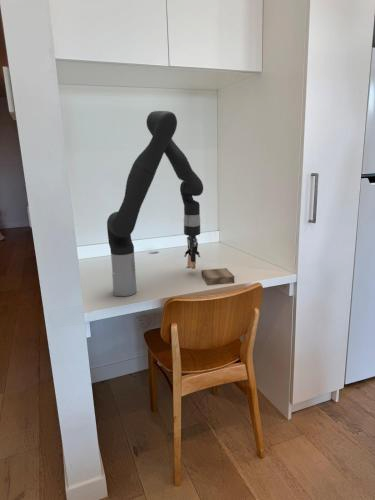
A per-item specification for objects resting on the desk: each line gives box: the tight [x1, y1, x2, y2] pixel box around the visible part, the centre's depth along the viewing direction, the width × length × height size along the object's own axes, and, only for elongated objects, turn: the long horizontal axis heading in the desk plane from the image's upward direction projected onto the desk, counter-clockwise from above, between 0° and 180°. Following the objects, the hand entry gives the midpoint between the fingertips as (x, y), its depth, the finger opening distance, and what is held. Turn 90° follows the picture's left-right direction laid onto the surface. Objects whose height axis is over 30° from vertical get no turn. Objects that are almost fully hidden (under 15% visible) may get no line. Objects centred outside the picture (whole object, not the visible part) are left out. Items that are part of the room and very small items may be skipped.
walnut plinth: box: [200, 267, 235, 286], centre depth 155 cm, size 12×12×3 cm
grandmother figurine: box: [183, 248, 201, 270], centre depth 161 cm, size 8×4×13 cm, turn 86°
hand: (192, 260), depth 162 cm, fingers closed on grandmother figurine, 3 cm apart
